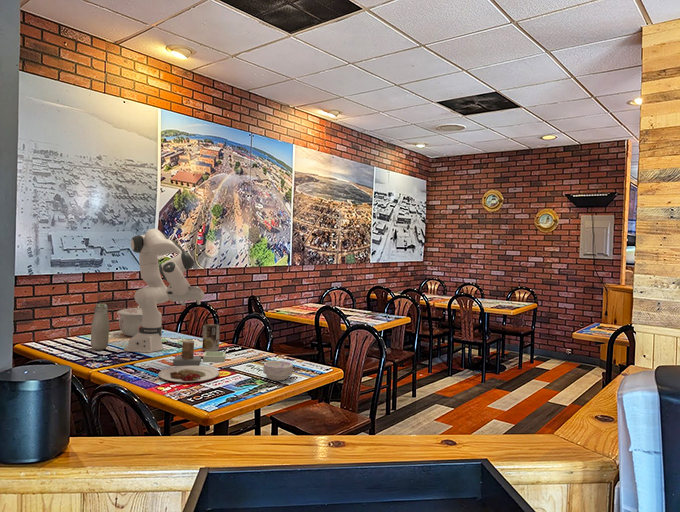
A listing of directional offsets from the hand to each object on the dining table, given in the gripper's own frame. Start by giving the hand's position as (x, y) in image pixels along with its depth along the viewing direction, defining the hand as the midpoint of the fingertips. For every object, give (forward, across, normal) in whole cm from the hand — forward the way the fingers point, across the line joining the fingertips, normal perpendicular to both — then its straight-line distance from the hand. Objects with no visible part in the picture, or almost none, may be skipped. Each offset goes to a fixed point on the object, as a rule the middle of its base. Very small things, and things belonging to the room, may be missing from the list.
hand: (191, 304), depth 278 cm
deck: (+23, +4, +24) cm, 33 cm away
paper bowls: (+25, -52, +34) cm, 67 cm away
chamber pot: (+51, +74, -23) cm, 93 cm away
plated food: (+11, -9, +41) cm, 44 cm away
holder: (+34, -4, +13) cm, 37 cm away
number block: (+21, +4, +22) cm, 30 cm away
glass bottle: (+21, +66, +13) cm, 71 cm away
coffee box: (+46, +9, -3) cm, 47 cm away
